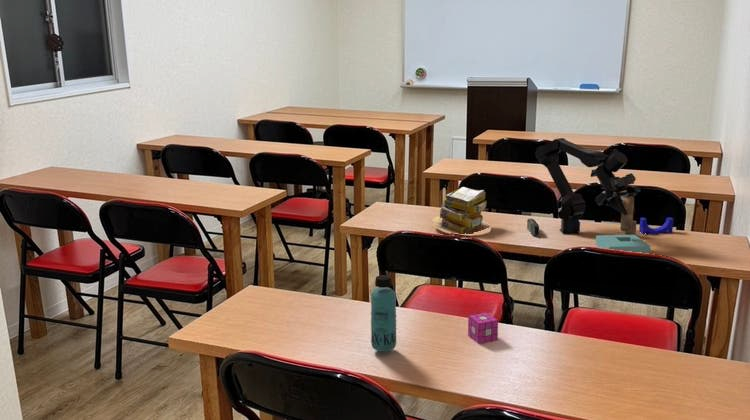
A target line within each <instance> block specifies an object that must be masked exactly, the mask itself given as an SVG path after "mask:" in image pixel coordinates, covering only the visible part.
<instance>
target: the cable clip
mask: <svg viewBox="0 0 750 420" xmlns="http://www.w3.org/2000/svg"><path fill="white" fill-rule="evenodd" d="M647 221H648V220H647V219H646V218H645V217H640V218H639V230H638V232H639V233H640V232H641V233H642V235H644V234H645V233H646V234H647V235H648V236H649V235H653V236H655V235H659V234H673V229H674V228H673V227H674V219H673V218H672V217H666V219H665V222H664V223H663V225H661V226H659V227H657V228H656V227H655V228H653V227H650V226H649V224H648V222H647ZM641 233H640V234H641ZM647 235H646V236H647Z"/></svg>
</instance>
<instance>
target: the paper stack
mask: <svg viewBox="0 0 750 420" xmlns="http://www.w3.org/2000/svg"><path fill="white" fill-rule="evenodd" d="M445 195H446V196H445V198H444V199H443V204H440V209H439V215H437V216H435V217H433V218H432V220H431V224H432V225H433V226H434V228H436V229H437V230H439V231H441V232H444V233H446V234H450V235H452V234H451V233H458V234H465V233H466V234H473V233H474V232H478V231H481V230H484V229H486V228H489V227H490V226H491V224H489V223H488V222H487V221H485V220H483V218H484V215H483V214H482V211H484V210H485V209H486V208H487V200H485V199H486V192H485V190H484V189H482V190H481V189H480V190H478V189H473V188H470V187H469V188H468V187H465V186H462V187H460V188H458V189H455V190H453V191H452V192H450V193H447V194H445Z"/></svg>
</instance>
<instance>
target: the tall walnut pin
mask: <svg viewBox="0 0 750 420" xmlns="http://www.w3.org/2000/svg"><path fill="white" fill-rule="evenodd" d="M621 201H622V204H623V206H624V208H625V209H626V212H627V215H623V214H622V213H620V214H621V215H620V216H621V217H620V227H619V229H620V231H621V232H624V233H625V232H631V231H632V221H634V219H633V218H634V214H633V208H635V206H634V205H635V196H634V197H631V196H624V197H623V199H621Z"/></svg>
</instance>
